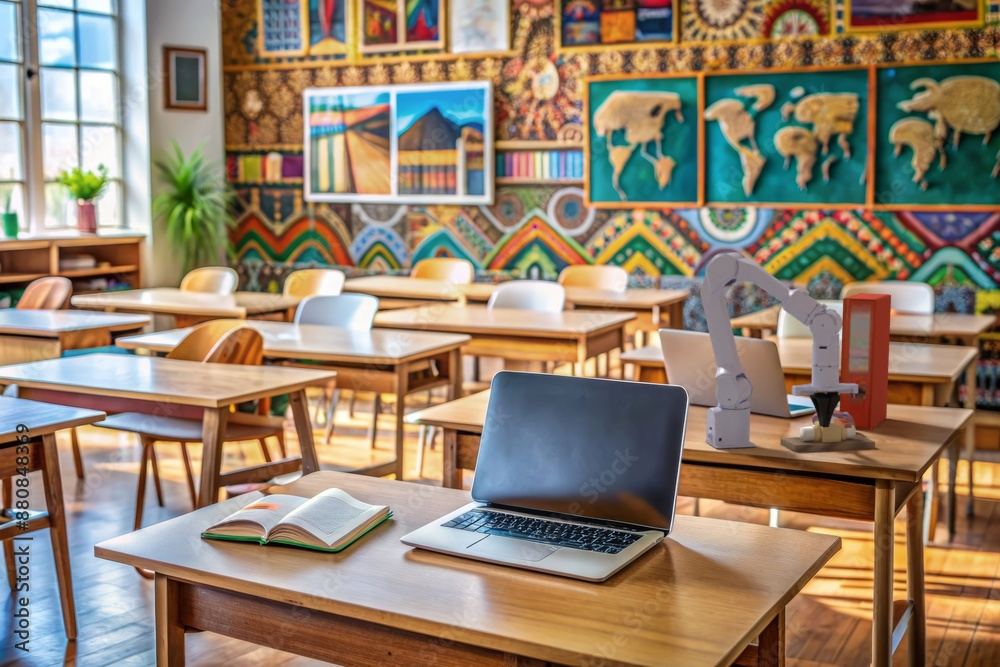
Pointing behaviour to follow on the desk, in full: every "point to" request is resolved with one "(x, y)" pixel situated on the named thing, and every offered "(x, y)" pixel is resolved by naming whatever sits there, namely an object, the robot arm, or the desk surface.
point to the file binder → (865, 357)
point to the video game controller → (837, 414)
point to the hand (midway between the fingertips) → (824, 426)
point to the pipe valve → (826, 433)
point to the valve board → (827, 444)
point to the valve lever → (841, 422)
